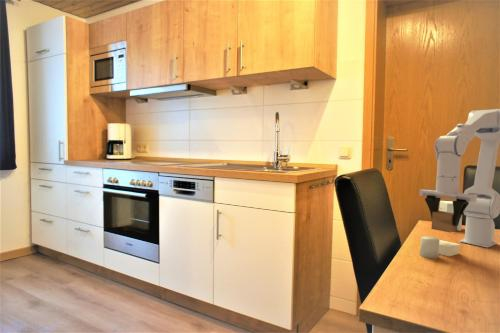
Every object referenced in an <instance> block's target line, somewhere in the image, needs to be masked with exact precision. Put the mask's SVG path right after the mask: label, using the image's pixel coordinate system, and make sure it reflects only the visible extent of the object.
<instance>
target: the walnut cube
mask: <svg viewBox="0 0 500 333" xmlns="http://www.w3.org/2000/svg"><path fill="white" fill-rule="evenodd" d="M453 214H454V213H452V212H445V211H439V210H438V211H435V212H433V213H432V218H431V230H433V231H434V230H435V231H440V232H445V233H453V232H457V231H458V230H457V226H458V225H457V226H453Z"/></svg>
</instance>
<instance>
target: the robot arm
mask: <svg viewBox="0 0 500 333" xmlns="http://www.w3.org/2000/svg"><path fill="white" fill-rule="evenodd" d="M474 138H478V139H480V140H481V143H480V147H479V148H480V149H479V153H478V160H477V166H476V171H475V176H474V183H473V185H472V186H470V187H468V188H467V189H465V190H464V192H460V179H461V177H460V176H461V163H462V162H461V161H462V156H463V155H465V153H466V151H467V147H468V146H469V143H470V142H471V141H472V140H473V139H474ZM433 147H434V153H435V160H436V161H437V167H436V180H435V181H436V182H435V190H434V189H423V188H422V189H419V196H420V197H424V201H425V204H426V205H427V207H428V210H429V212H430V217H431V219H432V213H433V212H435V211H439V208H440V201H441V199H445V200H452V202H453V211H454V214H453V226H457V225H458V224H459V221H460V218H461V216H462V217H463V215H464V216H466V217H465V227H464V228H465V231H464V238H462V239H460V240H459V242H460V243H465V244H469V245H474V246H477V247H483V248H490V247H493V246H495V245H497V244H498V242H497V241H495V240H494V239H495V229H496V228H495V227H496V225H495V222H494V219H496V218H497V217H498V216H499V215H500V193H498V191H496V190H495V189H494V188H493V184H494V176H495V172H496V165H497V158H498V155H499V148H500V108H494V109H493V108H492V109H491V108H490V109H481V110H476V109H475V110H474V109H473V110H470V112H469V113H468V116H467V120H466V122H465V123H457V124H456V126H455V127H454V128H453V129H451V131H449V132H448V133H447V134H446V135H440V136H439V137H438V138H436V140H435V142H434V145H433Z"/></svg>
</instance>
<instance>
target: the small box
mask: <svg viewBox="0 0 500 333" xmlns="http://www.w3.org/2000/svg"><path fill="white" fill-rule="evenodd" d="M438 211H445V212H452V213H454V211H453V200H452V201H451V200H450V201H449V200H448V201H447V200H440V203H439V208H438ZM462 221H463V215H462V216H461V218H460V221H459V224H458V226H457V231H460V232H461V231H462V226H463V225H462V223H463V222H462Z"/></svg>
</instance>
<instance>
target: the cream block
mask: <svg viewBox="0 0 500 333" xmlns="http://www.w3.org/2000/svg"><path fill="white" fill-rule="evenodd" d="M460 247H461V246H460V244H459V243H456V242H450V241H447V240H446V241H445V240H441V239H439V255H441V256H445V257H451V256H452V257H453V256H455V255H459V254H460Z"/></svg>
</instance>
